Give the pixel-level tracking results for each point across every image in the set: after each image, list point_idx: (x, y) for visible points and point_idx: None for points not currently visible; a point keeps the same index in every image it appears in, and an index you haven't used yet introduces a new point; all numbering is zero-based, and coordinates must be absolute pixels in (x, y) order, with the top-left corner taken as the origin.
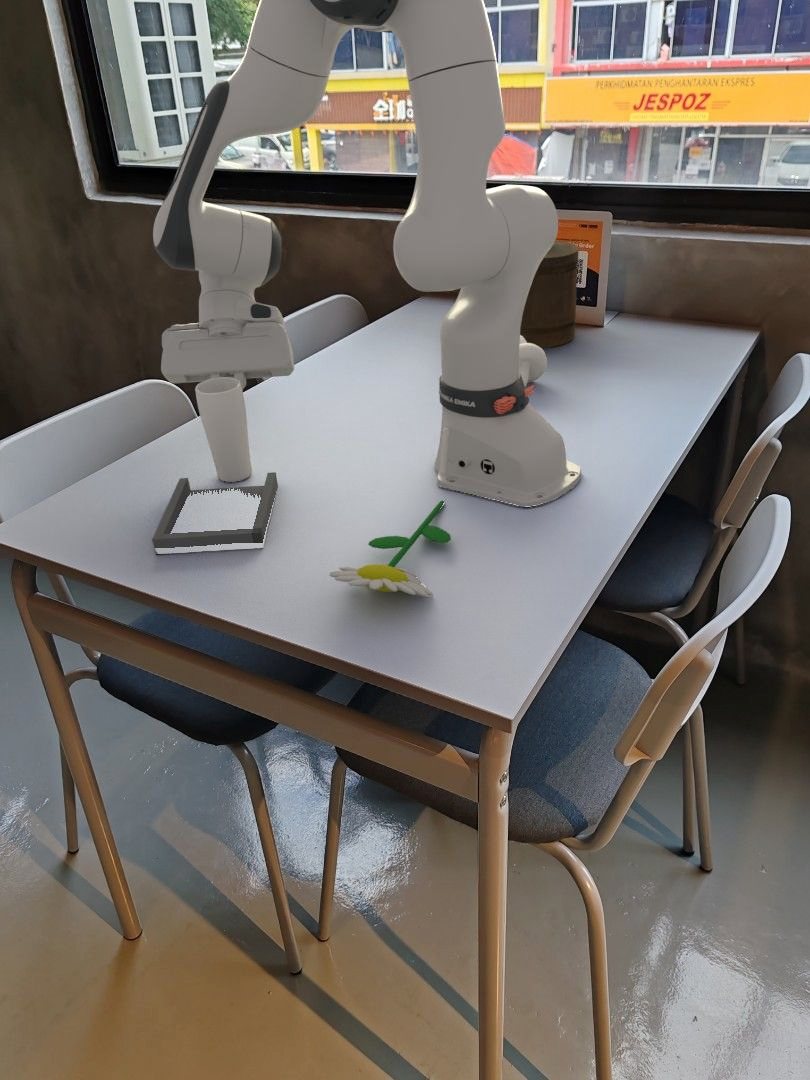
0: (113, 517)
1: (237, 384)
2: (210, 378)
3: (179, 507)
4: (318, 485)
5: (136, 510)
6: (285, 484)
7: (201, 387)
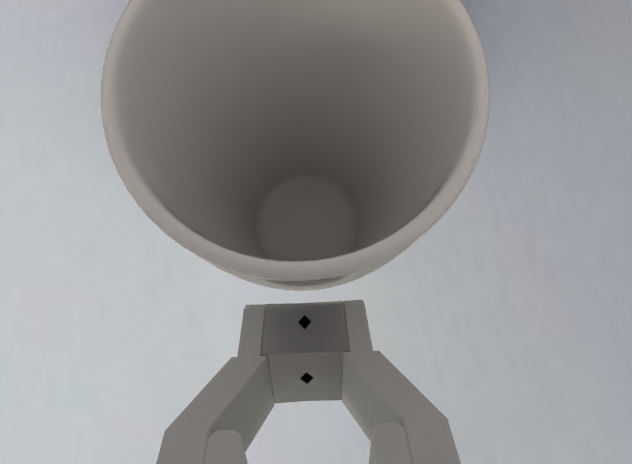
0: (589, 28)
1: (159, 196)
2: (452, 443)
3: None
4: (48, 150)
5: (540, 58)
6: None
7: (453, 154)
